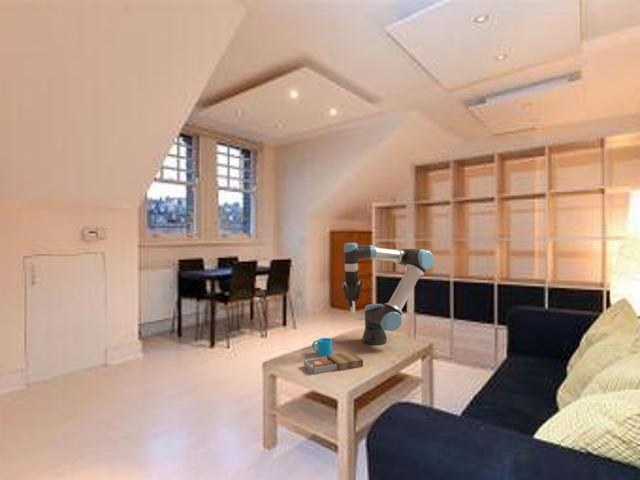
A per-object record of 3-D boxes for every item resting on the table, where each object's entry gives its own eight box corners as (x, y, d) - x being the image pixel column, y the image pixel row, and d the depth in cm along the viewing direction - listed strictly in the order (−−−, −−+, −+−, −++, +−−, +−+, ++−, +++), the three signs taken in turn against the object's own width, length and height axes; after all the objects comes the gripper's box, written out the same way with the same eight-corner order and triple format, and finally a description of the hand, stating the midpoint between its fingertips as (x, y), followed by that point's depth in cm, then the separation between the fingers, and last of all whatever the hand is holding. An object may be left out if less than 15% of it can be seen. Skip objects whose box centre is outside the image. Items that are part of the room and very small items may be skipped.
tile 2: (326, 364, 204) (329, 360, 205) (330, 367, 200) (333, 362, 201) (320, 360, 203) (323, 355, 203) (324, 362, 199) (326, 358, 199)
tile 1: (313, 361, 201) (313, 366, 201) (316, 364, 197) (316, 369, 197) (321, 360, 203) (321, 365, 203) (324, 363, 199) (324, 368, 199)
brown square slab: (349, 357, 215) (349, 351, 215) (363, 366, 202) (362, 359, 202) (326, 361, 210) (326, 355, 209) (338, 370, 197) (338, 363, 197)
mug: (334, 353, 224) (334, 338, 223) (328, 357, 216) (328, 342, 216) (315, 350, 229) (315, 336, 229) (308, 354, 222) (308, 340, 221)
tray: (326, 362, 209) (326, 356, 208) (337, 370, 198) (337, 364, 197) (304, 366, 203) (304, 360, 203) (313, 374, 192) (313, 368, 192)
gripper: (357, 268, 227) (359, 309, 228) (337, 271, 221) (339, 312, 223) (364, 270, 220) (366, 312, 222) (344, 272, 214) (346, 315, 216)
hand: (352, 312), depth 222 cm, fingers closed
